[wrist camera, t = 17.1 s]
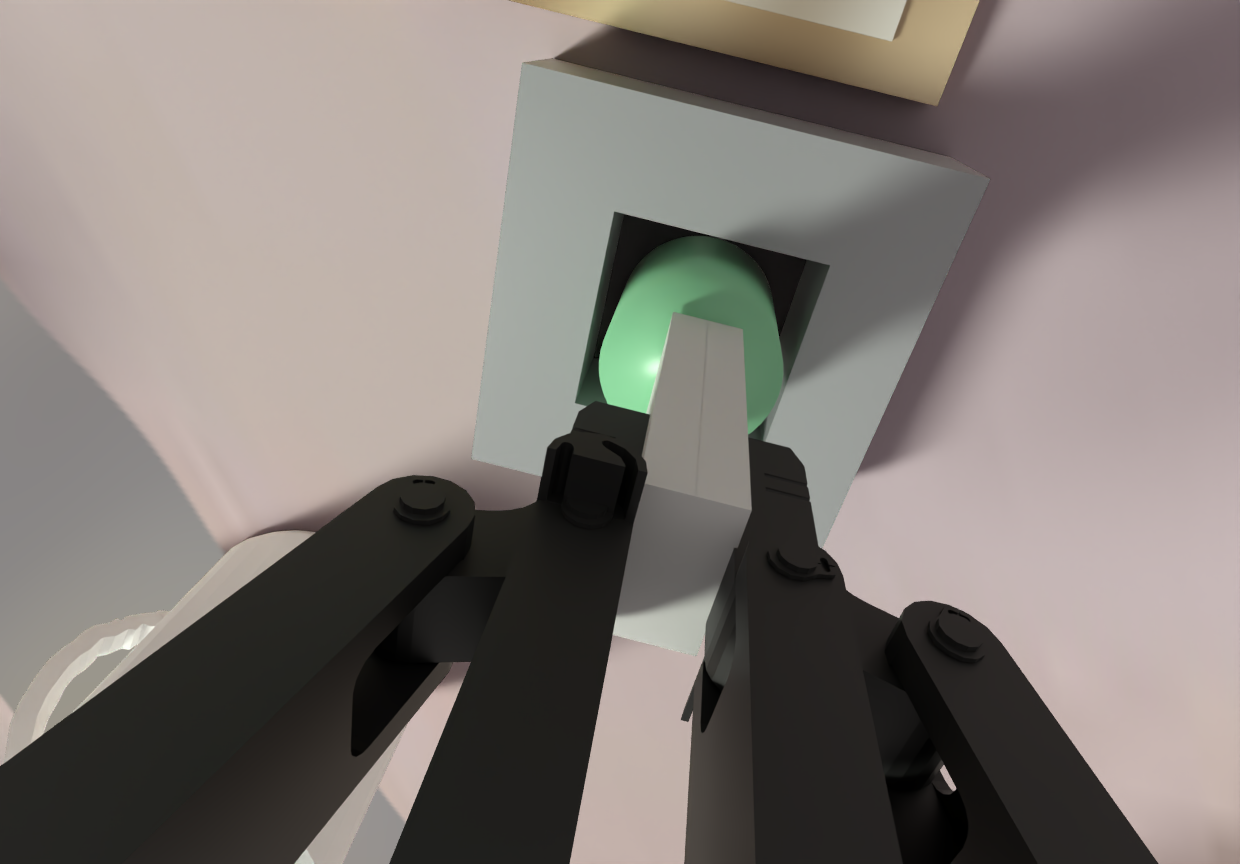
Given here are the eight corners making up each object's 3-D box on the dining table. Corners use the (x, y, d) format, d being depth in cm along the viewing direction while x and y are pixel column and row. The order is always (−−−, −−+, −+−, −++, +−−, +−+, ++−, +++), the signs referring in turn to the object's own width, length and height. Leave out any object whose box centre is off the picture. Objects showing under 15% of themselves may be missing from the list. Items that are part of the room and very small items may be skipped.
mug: (462, 575, 26) (343, 817, 18) (417, 726, 31) (306, 974, 23) (141, 463, 26) (-129, 662, 18) (143, 634, 30) (-71, 855, 22)
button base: (501, 409, 23) (471, 458, 20) (552, 58, 18) (522, 62, 15) (811, 488, 22) (822, 547, 20) (951, 157, 18) (990, 179, 15)
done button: (608, 360, 20) (583, 428, 17) (640, 219, 18) (619, 262, 15) (747, 395, 20) (751, 470, 17) (793, 257, 18) (809, 310, 15)
